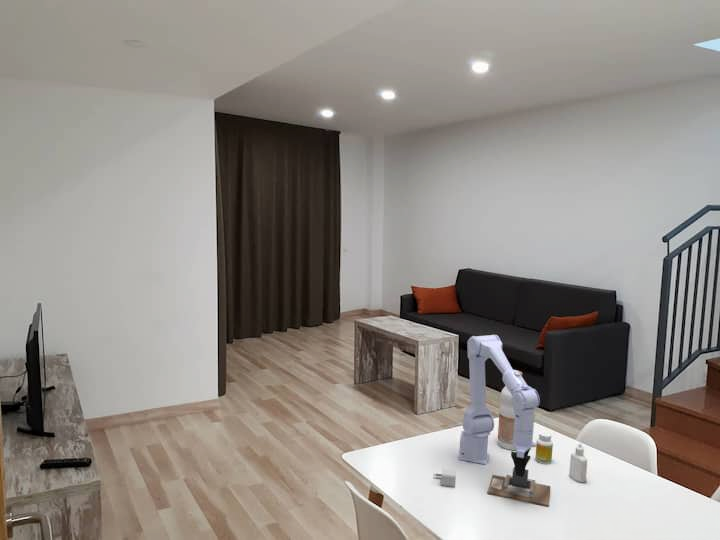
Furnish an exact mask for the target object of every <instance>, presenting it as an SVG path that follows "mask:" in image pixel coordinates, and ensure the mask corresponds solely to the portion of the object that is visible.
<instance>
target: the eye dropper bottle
mask: <svg viewBox="0 0 720 540" xmlns="http://www.w3.org/2000/svg"><path fill="white" fill-rule="evenodd" d="M584 453H585V448H584V447H583V446H582V443H578V446H575V452H572V453H571V454H570V461H569V462H570V463H569V473H568V476H569V477H570V478H571V479H572V480H574V481H575V482H578V483H580V484H581V483H585V482H586V480H587V473H588V472H587V471H588V459H587V458H586V456H585V455H584Z"/></svg>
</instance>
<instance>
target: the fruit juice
mask: <svg viewBox="0 0 720 540" xmlns="http://www.w3.org/2000/svg"><path fill="white" fill-rule="evenodd" d="M517 371H518V372H519V373H520V375H521V376H522V377H523V372H522V371H520V370H517ZM504 385H505V384H504ZM500 397H501V403H500V406H499V410H498V411H499V413H498V414H499V415H498V428H497V444H498V446H499V447H500V448H503V449H505V450H510V451H516V449H515V447H514V445H513V443H512V440H513V434H514V420H515V413H514V411H513V410H514V407H513V403H512V397H513V396H512V395H511V393H510V391H509V390H508V388H507V387H506V385H505V386H504V387H503V388H502V389H501V392H500Z"/></svg>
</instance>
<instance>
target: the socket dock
mask: <svg viewBox="0 0 720 540" xmlns="http://www.w3.org/2000/svg"><path fill="white" fill-rule="evenodd" d="M512 476H513V474H512V475H511V474H506V475H505V476H502V475H496V474H492V475H491V477H490V481H489V485H488V489H487V493H486V494H487V495H491V496H494V497H501V498H504V499H510V500H514V501H517V502H523V503H529V504H533V505H537V506H542V507H546V508H550V498H551V497H550V495H551V485H546V484H541V483H538V482H537V483H536V479H532V478H528V484H527V489H526V488H521V487H516V486H512Z"/></svg>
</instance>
